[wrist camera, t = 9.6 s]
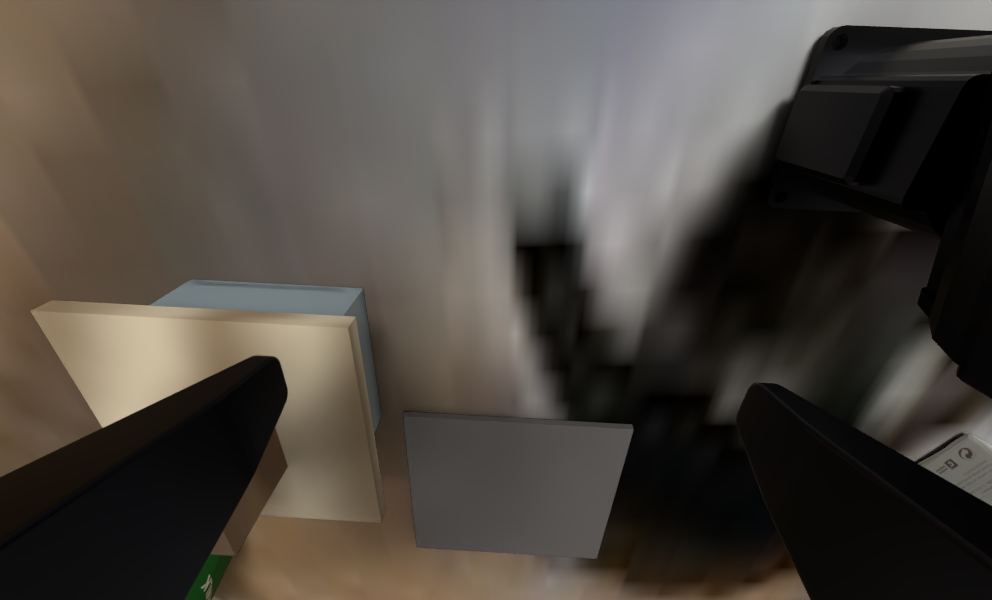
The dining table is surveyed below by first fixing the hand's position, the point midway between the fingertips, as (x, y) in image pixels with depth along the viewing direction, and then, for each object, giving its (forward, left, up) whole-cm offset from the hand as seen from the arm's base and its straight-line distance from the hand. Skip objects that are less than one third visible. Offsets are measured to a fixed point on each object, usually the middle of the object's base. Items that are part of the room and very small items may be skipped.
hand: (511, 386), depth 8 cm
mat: (-1, +20, -12) cm, 23 cm away
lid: (+12, +9, -7) cm, 17 cm away
